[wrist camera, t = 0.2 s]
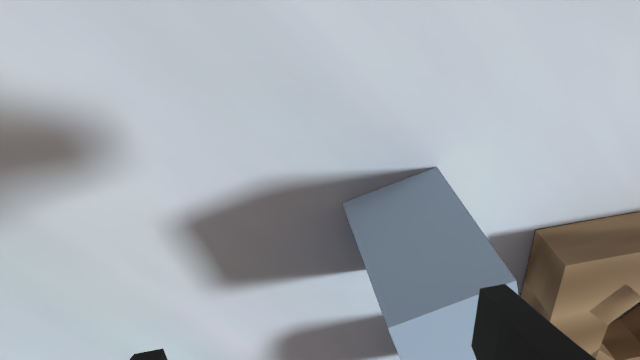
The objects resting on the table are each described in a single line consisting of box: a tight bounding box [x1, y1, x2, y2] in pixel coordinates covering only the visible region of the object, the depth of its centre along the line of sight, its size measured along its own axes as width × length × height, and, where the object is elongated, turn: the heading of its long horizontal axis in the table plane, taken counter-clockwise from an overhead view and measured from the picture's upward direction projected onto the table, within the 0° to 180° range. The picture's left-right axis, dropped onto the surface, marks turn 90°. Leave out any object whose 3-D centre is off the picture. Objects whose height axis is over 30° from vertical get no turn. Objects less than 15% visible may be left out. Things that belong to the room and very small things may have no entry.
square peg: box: [342, 167, 519, 360], centre depth 20 cm, size 4×4×7 cm
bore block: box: [521, 212, 640, 360], centre depth 28 cm, size 12×12×3 cm
